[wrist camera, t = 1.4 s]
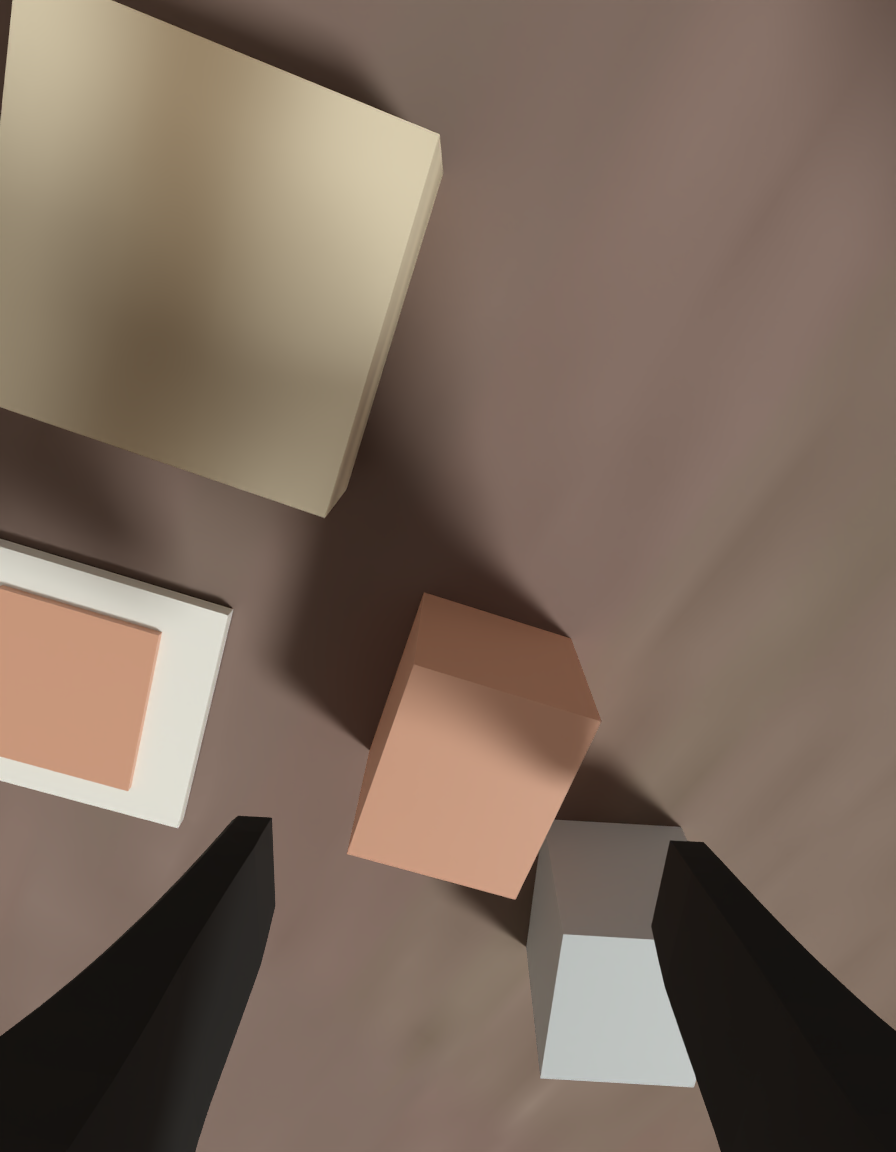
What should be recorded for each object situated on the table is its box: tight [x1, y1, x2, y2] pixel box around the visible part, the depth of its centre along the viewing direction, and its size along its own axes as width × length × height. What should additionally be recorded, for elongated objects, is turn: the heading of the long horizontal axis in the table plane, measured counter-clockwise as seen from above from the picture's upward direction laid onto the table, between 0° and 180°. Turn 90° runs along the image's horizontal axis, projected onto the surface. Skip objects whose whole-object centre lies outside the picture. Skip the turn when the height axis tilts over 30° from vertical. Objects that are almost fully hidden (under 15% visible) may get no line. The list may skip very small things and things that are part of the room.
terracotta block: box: [347, 592, 601, 900], centre depth 16 cm, size 4×5×4 cm
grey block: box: [526, 820, 696, 1087], centre depth 18 cm, size 4×5×4 cm
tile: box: [0, 539, 233, 828], centre depth 17 cm, size 7×7×1 cm
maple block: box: [0, 0, 443, 518], centre depth 13 cm, size 7×7×3 cm
